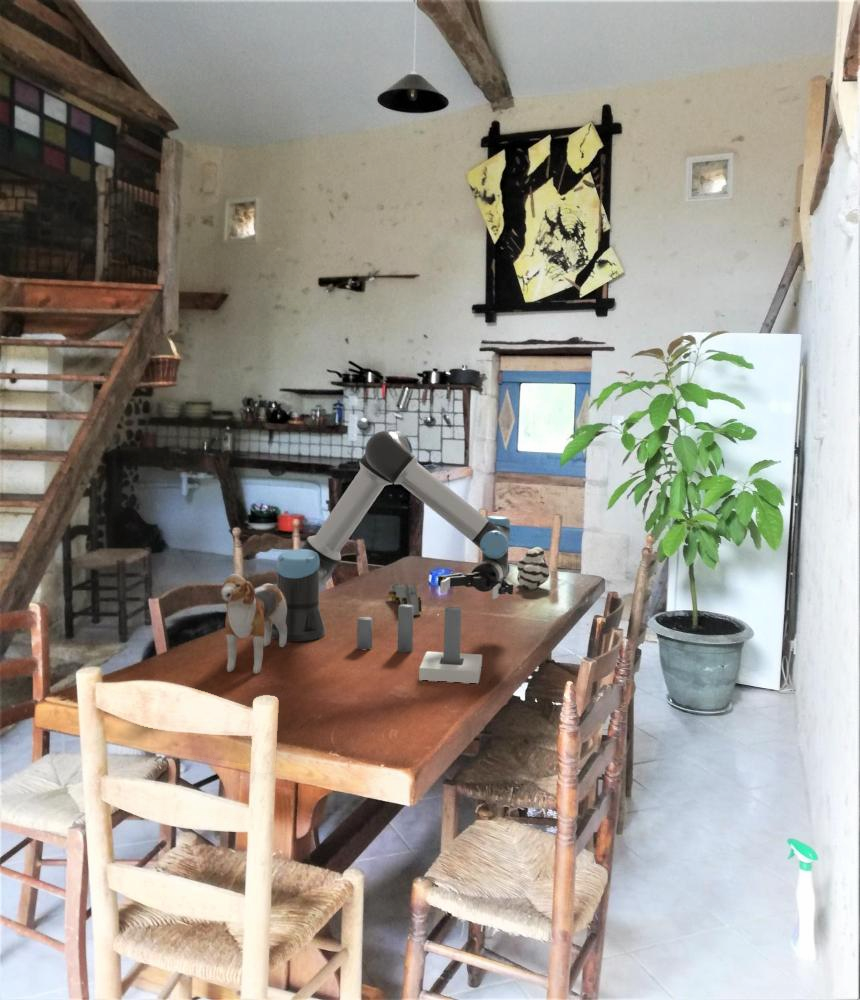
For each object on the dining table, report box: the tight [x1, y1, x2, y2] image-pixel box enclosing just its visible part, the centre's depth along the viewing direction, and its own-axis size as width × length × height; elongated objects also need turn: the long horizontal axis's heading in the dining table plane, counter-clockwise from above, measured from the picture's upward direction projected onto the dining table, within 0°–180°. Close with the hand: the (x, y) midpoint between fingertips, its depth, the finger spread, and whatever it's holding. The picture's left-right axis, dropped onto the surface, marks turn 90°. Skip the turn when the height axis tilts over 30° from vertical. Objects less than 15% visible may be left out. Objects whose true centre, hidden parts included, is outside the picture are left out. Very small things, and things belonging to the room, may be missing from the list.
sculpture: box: [516, 546, 551, 590], centre depth 299 cm, size 22×12×15 cm, turn 166°
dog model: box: [220, 573, 288, 675], centre depth 200 cm, size 10×41×25 cm, turn 172°
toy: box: [388, 582, 422, 616], centre depth 264 cm, size 6×24×10 cm, turn 16°
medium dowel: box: [397, 604, 414, 653], centre depth 214 cm, size 4×4×12 cm
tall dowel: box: [443, 606, 462, 665], centre depth 195 cm, size 4×4×16 cm
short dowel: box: [356, 616, 373, 650], centre depth 215 cm, size 4×4×8 cm
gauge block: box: [418, 650, 483, 685], centre depth 196 cm, size 14×14×3 cm
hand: (467, 590), depth 203 cm, fingers open, 13 cm apart
